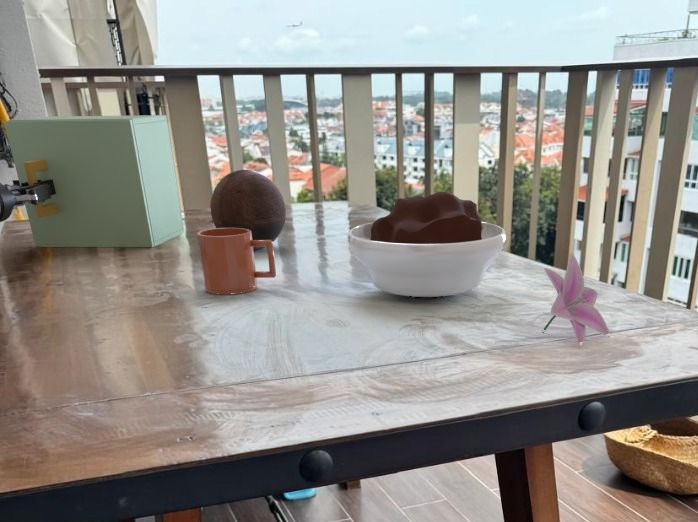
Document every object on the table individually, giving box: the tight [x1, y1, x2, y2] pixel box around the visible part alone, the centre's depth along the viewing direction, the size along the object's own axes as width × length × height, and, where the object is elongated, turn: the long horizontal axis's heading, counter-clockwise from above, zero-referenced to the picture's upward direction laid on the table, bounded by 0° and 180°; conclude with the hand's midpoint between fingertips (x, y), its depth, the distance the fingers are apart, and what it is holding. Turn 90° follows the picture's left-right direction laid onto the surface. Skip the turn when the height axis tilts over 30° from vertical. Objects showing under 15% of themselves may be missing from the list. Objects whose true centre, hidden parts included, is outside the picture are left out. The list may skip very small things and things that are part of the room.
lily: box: [542, 252, 611, 349], centre depth 99 cm, size 12×12×10 cm
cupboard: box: [7, 114, 185, 248], centre depth 163 cm, size 18×26×24 cm
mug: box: [196, 227, 277, 296], centre depth 125 cm, size 12×9×9 cm
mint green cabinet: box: [3, 120, 154, 248], centre depth 152 cm, size 7×26×24 cm, turn 85°
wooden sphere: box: [210, 169, 287, 251], centre depth 153 cm, size 15×15×15 cm
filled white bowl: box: [347, 191, 507, 299], centre depth 119 cm, size 25×25×15 cm
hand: (46, 186), depth 154 cm, fingers closed on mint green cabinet, 2 cm apart
